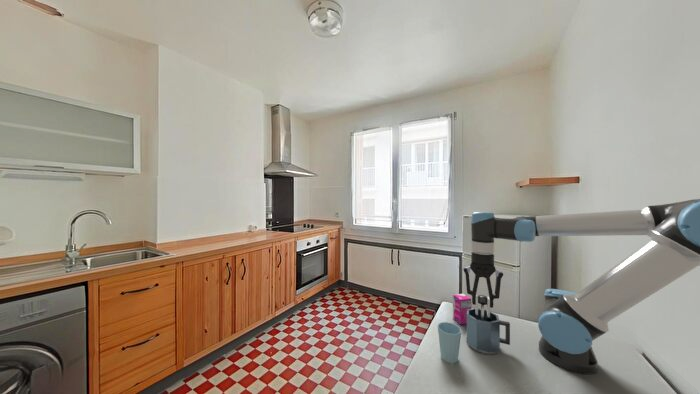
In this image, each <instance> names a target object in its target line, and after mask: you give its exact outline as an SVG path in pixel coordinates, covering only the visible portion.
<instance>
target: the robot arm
mask: <svg viewBox="0 0 700 394" xmlns="http://www.w3.org/2000/svg"><path fill="white" fill-rule="evenodd" d="M470 225H471V226H470V227H471V228H470V229H471V246H470V247H471V249H470V250H471V256H470V257H471V263H470V264H469V266H463V269H462V270H463V272H464V275H465V282H466V293H467V294H468V295H470V296H471V305H473V306H475V313H476V315H478V309H479V303H478V295H479V294H478V295H477V292H478V286H479V281H480V278H484V279H485V281H486V285H487V286H486V287H487V292H488V296H486V297H487V305H486V310H487V316H488V317H490V312H491V309H492V308H494V300H496V299H497V300H499V299H500V294H501V293H500V292H501V282H502V278H503V276H504V273H503V271H501V270H498V269H497V268H496V266H495V254H494V253H495V239H500V240H509V241H516V242H521V243H522V242H525V243H526V242H530V243H531V242H534V241H535V239H536V237H562V236H563V237H582V236H583V237H584V236H587V237H588V236H590V237H591V236H592V237H593V236H598V237H599V236H603V237H604V236H647V237H650V238H651V239H650V240H648V241H647V242H646V243H645V244H643V245H642V246H640V247H639V248H637V249H636V250H635V251H634V252H632V253H630V254H629V255H628V256H627V257H625V258H624V259H622V260H621V261H620V262H619V263H617V264H616V265H614V266H613V267H612V268H610V269H608V270H607V271H606V272H604V273H603V274H602V275H599V277H598V278H596V279H595V280H593V281H592V282H591V283H589V284H588V285H587V286H585V287H584V288H582V289H581V290H579V292H572V291H568V290H563V289H558V288H556V289H555V288H546V289H545V290H544V294H543V295H544V305H543V307H542V310H541V313H540V314H539V316H538V319H537V322H538V323H537V325H538V329H539V332H540V333H541V337H540V340H538V351H539V353H540V355H541V356H542V357H544V358H545V359H546V360H547V361H548V362H551V363H552V364H554V365H556V366H557V367H560V368H563V369H565V370H568V371H571V372H575V373H579V374H584V375H585V374H586V375H592V374H596V373H597V372H598V371H599V362H598V359H597V357H596V354H595V351H594V349H593V347H592V345H593V341H595V340H596V339H598V338H600V337H601V336H603V335H604V334H606V333H607V332H609V325H608V324H609V322H610V321H613V320H614V319H615V318H617V317H618V316H620V315H621V314H623V313H625V312H626V311H628V310H630V309H632V308H633V307H634V306H636V305H638V304H639V303H641V302H642V301H644V300H646V299H648V298H649V297H650V296H652V295H654V294H655V293H657V292H659V291H660V290H662V289H663V288H665V287H667V286H669V285H670V284H672V283H673V282H675V281H676V280H678V279H680V278H681V277H683V276H684V275H686V274H688V273H689V272H691V271H692V270H694V269H696V268H698V267H700V198H696V199H689V200H683V201H678V202H677V201H676V202H672V203H664V204H657V205H645V206H644V207H642V208H641V209H633V210H617V211H616V210H614V211H599V212H598V211H597V212H584V213H568V214H567V213H566V214H564V213H563V214H551V215H548V214H547V215H536V216H535V215H532V216H516V217H514V218H504V217H503V218H501V217H500V218H499V217H495V213H494V212H493V211H490V212H489V211H474V212H473V213H472V214H471V223H470ZM471 271H472V272H473V274H474V281H473V286H472V289H471V282H470V274H469V273H470V272H471ZM494 273H495V276H496V277H495V286H494V287H495V288H494V293H493V289H492V288H493V287H492V281H491V276H492V275H493V274H494Z"/></svg>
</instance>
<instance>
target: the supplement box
mask: <svg viewBox="0 0 700 394" xmlns="http://www.w3.org/2000/svg"><path fill="white" fill-rule="evenodd" d="M468 309H472V297H470V296H468V295H466V294H465V293H457V294H455V293H454V294H452V319H453V320H454V321H455V322H456V323H458V324H459V325H460V326H463V325H464V326H467V325H466V324H467V310H468Z"/></svg>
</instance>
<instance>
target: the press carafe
mask: <svg viewBox="0 0 700 394" xmlns="http://www.w3.org/2000/svg"><path fill="white" fill-rule="evenodd" d="M500 326H504V328H505V334H504V335H505V337H504V338H502V337H501V336H500V335H501V327H500ZM466 344H467V346H468V347H469V348H470V349H472V350H473V351H475V352H477V353H480V354H482V355H487V356H495V355H498V354H500V351H501V347H500V346H501V344H504V345H508V346H511V323H510V322H509V321H505V320H500V318H499V315H498V314H496V313H493V312H492V311H490V317H488V316H487V309H484V321H482V320H481V308H478V315H476V313H475V308H471V309H468V310H467V325H466Z"/></svg>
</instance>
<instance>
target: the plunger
mask: <svg viewBox="0 0 700 394" xmlns="http://www.w3.org/2000/svg"><path fill="white" fill-rule="evenodd" d="M487 297H488V296H486V295H483V294H478V305H480V309H481V320H482V321H484V310H485V306H487Z"/></svg>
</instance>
